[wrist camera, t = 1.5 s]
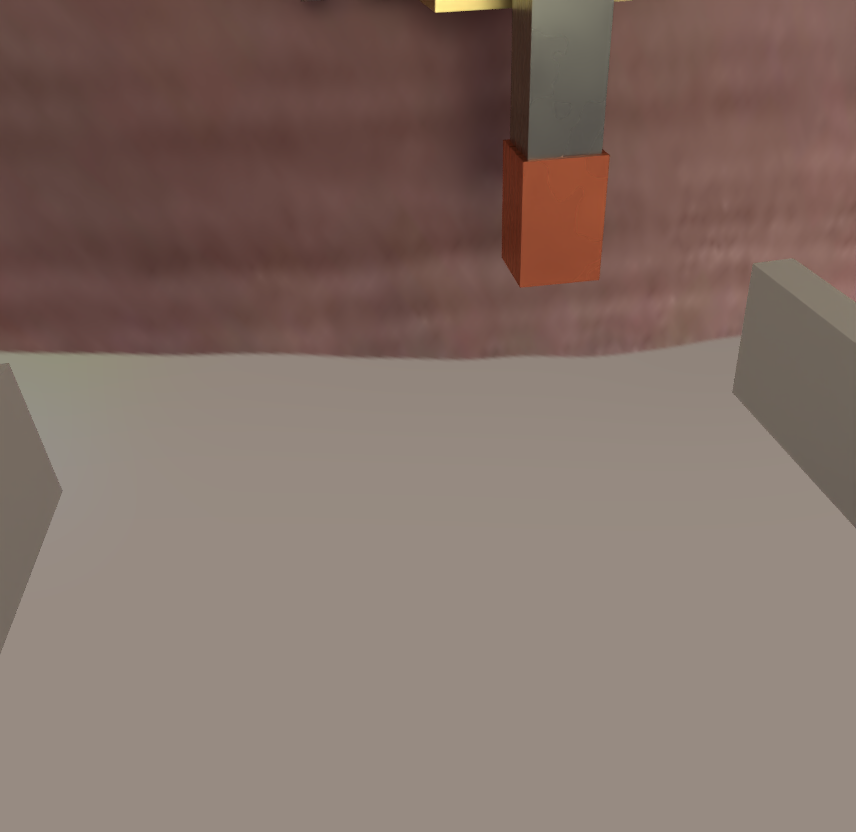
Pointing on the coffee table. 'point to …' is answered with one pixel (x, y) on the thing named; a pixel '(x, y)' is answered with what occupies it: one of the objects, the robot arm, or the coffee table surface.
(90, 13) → the coffee table surface
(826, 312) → the robot arm
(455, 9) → the pipe valve
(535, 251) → the lever
